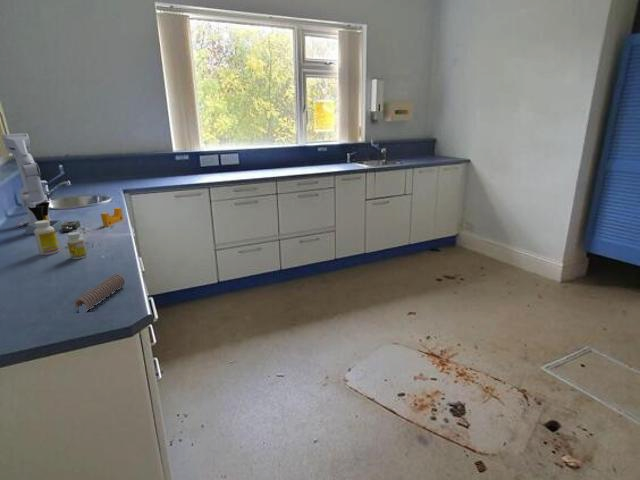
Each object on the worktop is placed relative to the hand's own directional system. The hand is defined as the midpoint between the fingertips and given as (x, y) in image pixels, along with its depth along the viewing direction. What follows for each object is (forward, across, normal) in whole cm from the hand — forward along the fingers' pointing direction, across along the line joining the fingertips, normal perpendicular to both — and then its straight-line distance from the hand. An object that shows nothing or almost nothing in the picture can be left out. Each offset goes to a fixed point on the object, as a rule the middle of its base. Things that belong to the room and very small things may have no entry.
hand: (42, 219), depth 181 cm
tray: (+5, 0, 0) cm, 5 cm away
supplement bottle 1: (+6, -36, -14) cm, 39 cm away
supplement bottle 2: (+6, -45, -27) cm, 53 cm away
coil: (+6, -86, -45) cm, 97 cm away
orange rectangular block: (+5, 0, 0) cm, 5 cm away
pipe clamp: (+6, +4, -28) cm, 29 cm away
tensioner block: (+5, -2, -11) cm, 12 cm away
